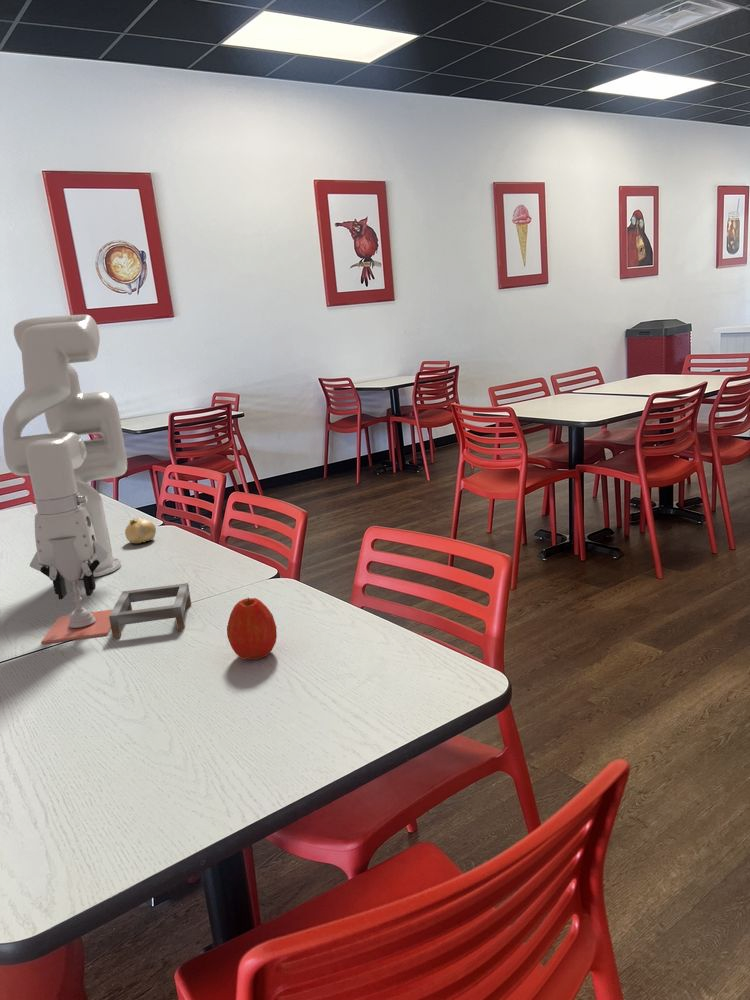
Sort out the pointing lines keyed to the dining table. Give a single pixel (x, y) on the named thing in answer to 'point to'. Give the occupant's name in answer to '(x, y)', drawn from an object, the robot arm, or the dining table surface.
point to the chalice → (71, 578)
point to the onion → (140, 530)
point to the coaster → (64, 632)
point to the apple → (251, 629)
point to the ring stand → (126, 615)
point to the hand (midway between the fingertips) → (76, 594)
